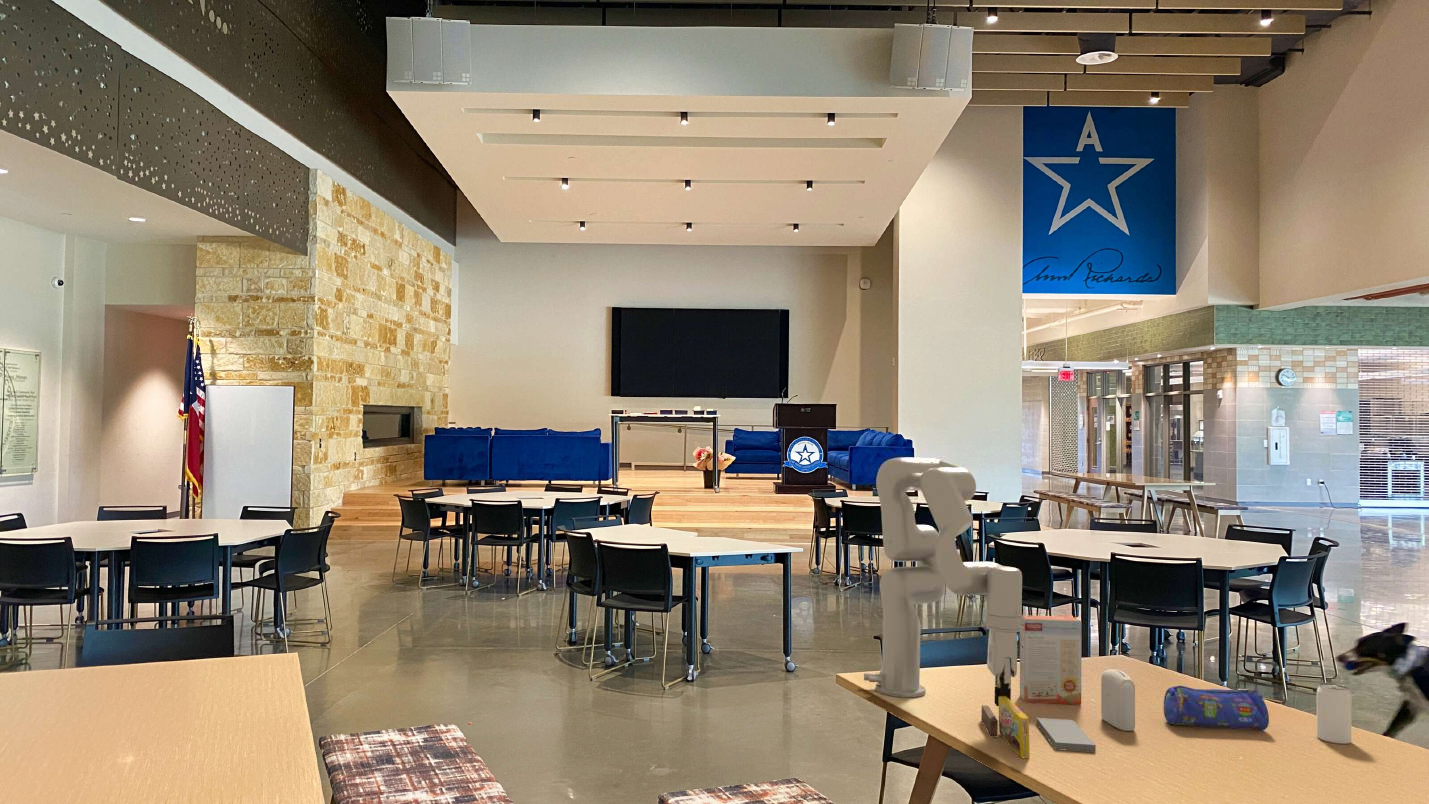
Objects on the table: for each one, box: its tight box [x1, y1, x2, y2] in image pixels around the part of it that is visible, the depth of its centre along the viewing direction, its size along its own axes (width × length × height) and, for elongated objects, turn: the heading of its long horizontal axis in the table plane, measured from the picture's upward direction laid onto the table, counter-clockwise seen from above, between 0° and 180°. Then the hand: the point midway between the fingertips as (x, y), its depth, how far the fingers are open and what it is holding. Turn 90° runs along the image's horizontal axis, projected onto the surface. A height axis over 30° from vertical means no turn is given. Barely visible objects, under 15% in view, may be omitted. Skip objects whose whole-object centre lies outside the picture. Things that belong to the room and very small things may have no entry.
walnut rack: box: [980, 704, 999, 737], centre depth 206 cm, size 7×12×4 cm, turn 173°
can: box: [1316, 682, 1352, 745], centre depth 206 cm, size 6×6×12 cm
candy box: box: [998, 696, 1031, 759], centre depth 195 cm, size 16×2×8 cm, turn 178°
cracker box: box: [1019, 614, 1082, 705], centre depth 232 cm, size 14×6×21 cm, turn 84°
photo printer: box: [1100, 669, 1136, 732], centre depth 213 cm, size 10×4×12 cm, turn 2°
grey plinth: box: [1036, 717, 1097, 753], centre depth 201 cm, size 8×18×2 cm, turn 173°
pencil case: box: [1163, 685, 1270, 732], centre depth 213 cm, size 22×9×10 cm, turn 85°
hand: (1002, 705), depth 205 cm, fingers closed
